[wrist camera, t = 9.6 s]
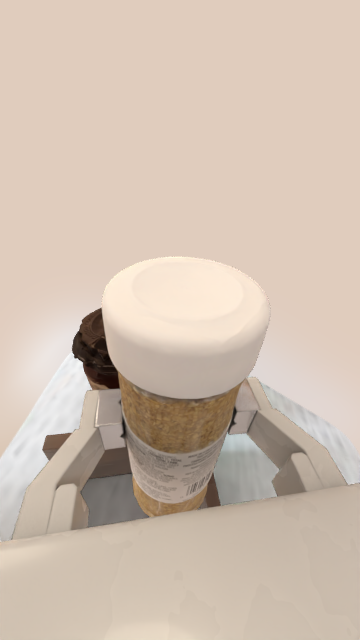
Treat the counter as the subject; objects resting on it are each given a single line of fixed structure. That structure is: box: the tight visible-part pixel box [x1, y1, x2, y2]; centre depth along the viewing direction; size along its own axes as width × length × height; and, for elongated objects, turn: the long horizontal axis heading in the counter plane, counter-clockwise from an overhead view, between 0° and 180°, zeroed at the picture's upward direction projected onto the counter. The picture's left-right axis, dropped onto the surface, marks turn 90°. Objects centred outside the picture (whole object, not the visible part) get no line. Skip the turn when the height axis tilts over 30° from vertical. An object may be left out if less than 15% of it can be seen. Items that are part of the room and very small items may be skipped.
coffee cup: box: [72, 308, 120, 390], centre depth 27 cm, size 9×8×13 cm
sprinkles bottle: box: [102, 257, 270, 517], centre depth 11 cm, size 5×5×13 cm
